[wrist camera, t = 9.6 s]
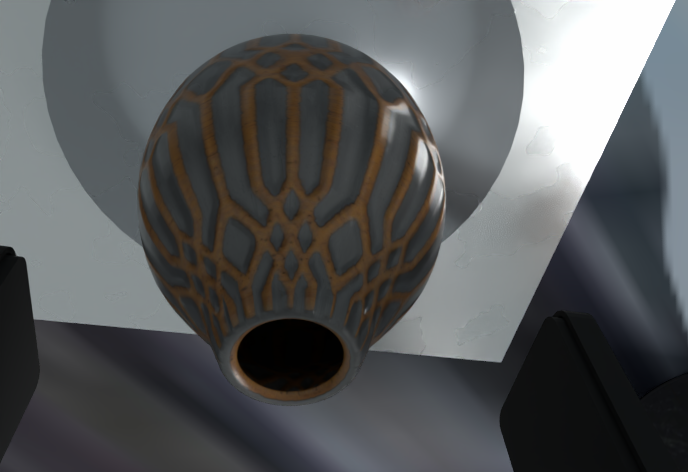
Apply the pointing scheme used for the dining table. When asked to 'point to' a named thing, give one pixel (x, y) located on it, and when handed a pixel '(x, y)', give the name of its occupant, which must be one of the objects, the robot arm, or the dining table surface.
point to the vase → (291, 211)
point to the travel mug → (671, 417)
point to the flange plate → (373, 40)
